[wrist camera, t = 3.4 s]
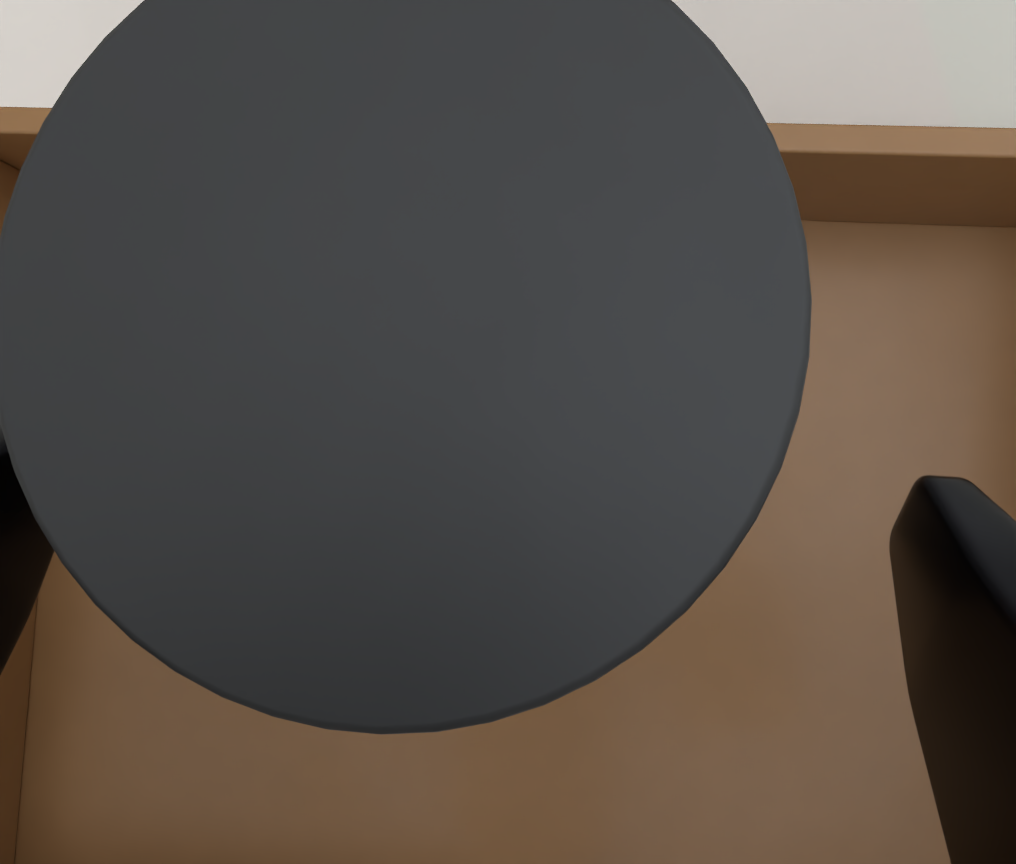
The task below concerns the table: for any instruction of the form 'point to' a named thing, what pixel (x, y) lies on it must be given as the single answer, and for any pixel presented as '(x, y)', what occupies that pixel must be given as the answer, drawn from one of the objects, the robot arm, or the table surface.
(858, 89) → the table surface
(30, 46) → the table surface
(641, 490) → the dark grey cylinder
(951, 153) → the brown wooden tray
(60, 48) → the table surface
